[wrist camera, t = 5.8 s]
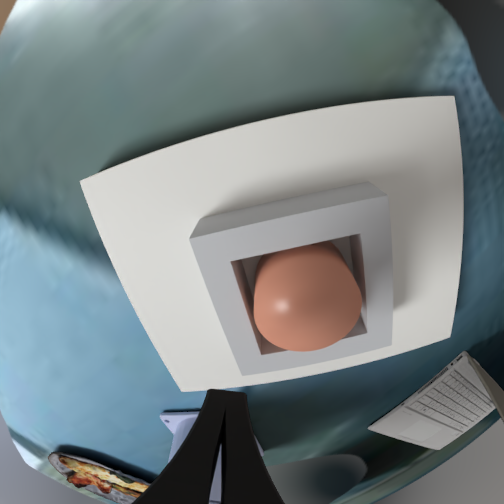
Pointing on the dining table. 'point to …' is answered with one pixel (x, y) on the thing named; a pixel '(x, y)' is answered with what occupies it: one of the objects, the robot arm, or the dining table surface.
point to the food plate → (98, 478)
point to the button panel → (289, 233)
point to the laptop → (444, 406)
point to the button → (305, 297)
